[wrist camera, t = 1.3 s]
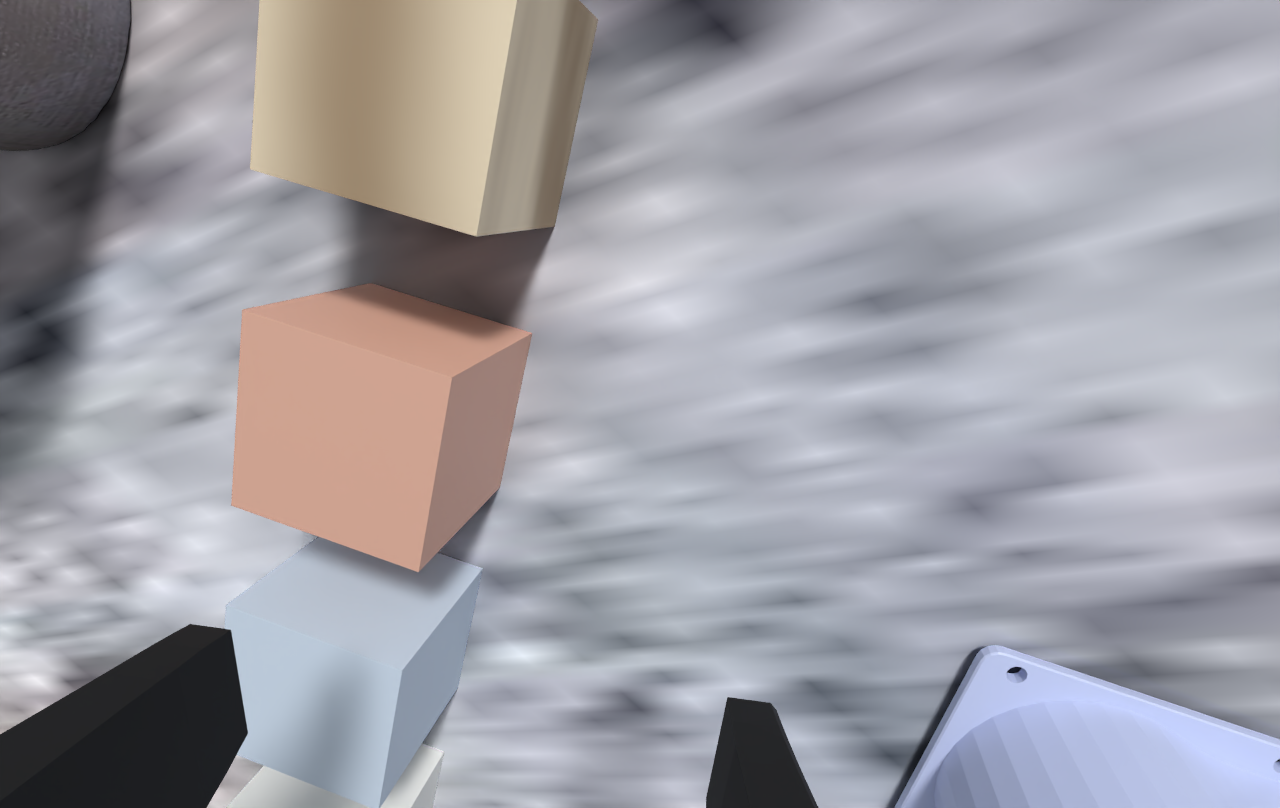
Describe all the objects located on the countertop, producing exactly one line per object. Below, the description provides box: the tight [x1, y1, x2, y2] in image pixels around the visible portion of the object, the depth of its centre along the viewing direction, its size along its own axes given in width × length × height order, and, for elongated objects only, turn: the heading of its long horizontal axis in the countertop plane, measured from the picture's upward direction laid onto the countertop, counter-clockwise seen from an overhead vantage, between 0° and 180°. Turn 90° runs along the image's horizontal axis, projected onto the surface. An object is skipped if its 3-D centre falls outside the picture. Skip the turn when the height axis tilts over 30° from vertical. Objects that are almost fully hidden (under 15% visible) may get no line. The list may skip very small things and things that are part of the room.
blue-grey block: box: [225, 537, 483, 808], centre depth 20 cm, size 5×5×5 cm
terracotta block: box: [231, 283, 532, 572], centre depth 18 cm, size 5×5×5 cm
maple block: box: [250, 0, 598, 237], centre depth 15 cm, size 5×5×5 cm
